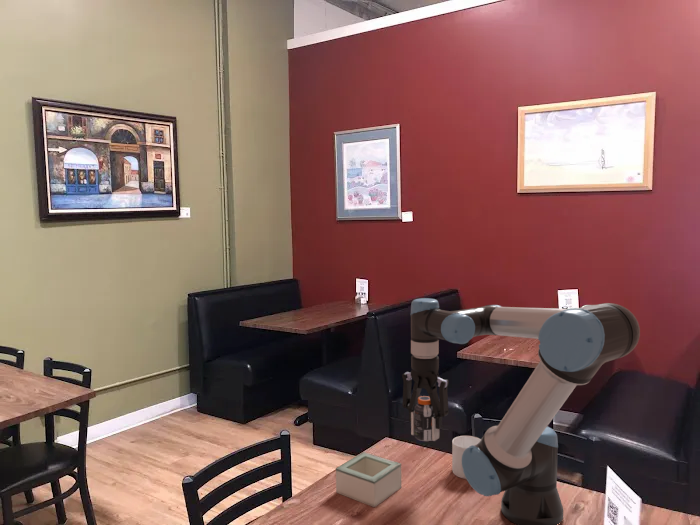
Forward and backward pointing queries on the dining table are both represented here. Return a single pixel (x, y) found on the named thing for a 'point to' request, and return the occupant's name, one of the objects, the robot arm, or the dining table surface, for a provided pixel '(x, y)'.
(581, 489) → the dining table surface
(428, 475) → the dining table surface
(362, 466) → the box
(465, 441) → the mug
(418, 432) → the pill bottle
